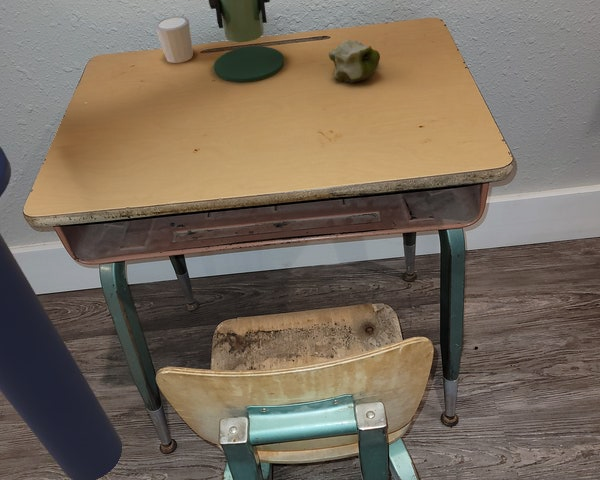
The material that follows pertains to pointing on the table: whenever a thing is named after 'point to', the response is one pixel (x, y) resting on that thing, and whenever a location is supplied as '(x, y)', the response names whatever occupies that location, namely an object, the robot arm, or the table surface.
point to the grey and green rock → (354, 61)
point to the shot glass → (175, 38)
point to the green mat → (249, 64)
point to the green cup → (242, 19)
